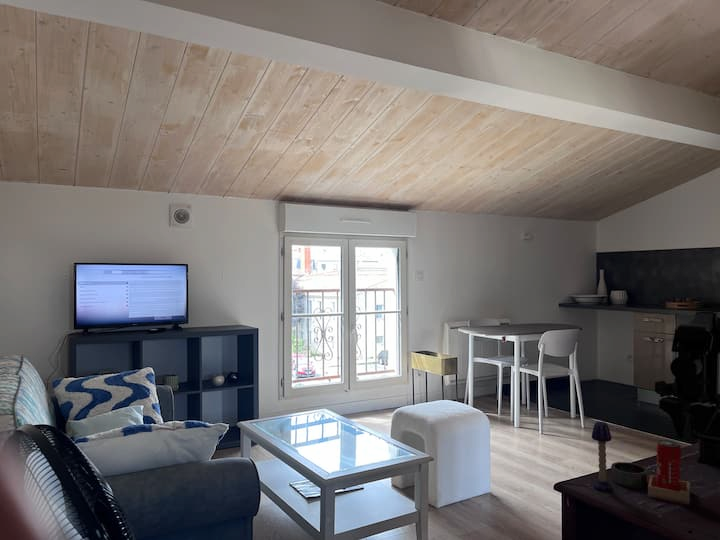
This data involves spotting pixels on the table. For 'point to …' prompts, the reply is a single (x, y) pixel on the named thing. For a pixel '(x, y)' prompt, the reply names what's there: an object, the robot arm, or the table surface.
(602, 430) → the toy lamp
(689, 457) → the table surface
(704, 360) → the robot arm
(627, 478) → the steel collar
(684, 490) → the terracotta tray
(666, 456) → the beverage can
